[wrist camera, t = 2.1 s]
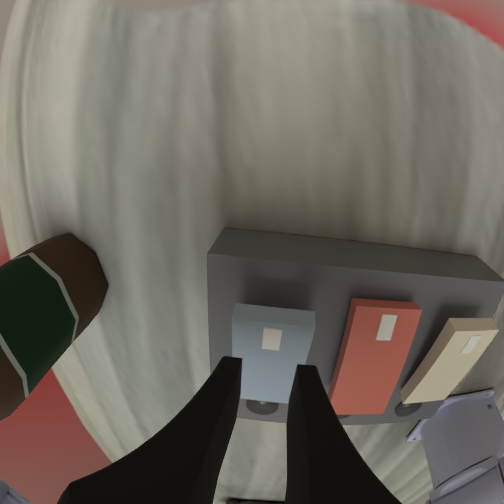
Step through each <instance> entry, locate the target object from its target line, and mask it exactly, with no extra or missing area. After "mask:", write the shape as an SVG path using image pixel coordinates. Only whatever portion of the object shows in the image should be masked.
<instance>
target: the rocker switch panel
mask: <svg viewBox="0 0 504 504" xmlns="http://www.w3.org/2000/svg"><path fill="white" fill-rule="evenodd" d="M207 281H208V323H209V350H210V371H211V374H212V372H213V371H214V369H215V368H216V366H217V365H218V363H219V361H220V360H221V358H222V357H223V356H230V357H232V315H233V311H234V308H235V304H236V303H241V304H249V305H258V306H267V307H276V308H286V309H297V310H307V311H315V321H316V328H315V332H314V335H313V339H312V343H311V346H310V350H309V353H308V356H307V360H306V363H305V365H315V366H316V367H317V368H318V372H319V375H320V378H321V380H322V383H323V386H324V388H325V391H326V393H327V395H328V391H329V388H330V385H331V381H332V378H333V374H334V371H335V367H336V363H337V360H338V356H339V352H340V348H341V344H342V340H343V336H344V332H345V328H346V323H347V319H348V314H349V310H350V305H351V300H352V298H360V299H373V300H388V301H404V302H415V303H416V304H417V305H418V306H419V307H420V308H421V309H422V312H421V316H420V319H419V323H418V326H417V329H416V332H415V335H414V338H413V341H412V344H411V347H410V350H409V353H408V355H407V358H406V361H405V363H404V366H403V369H402V371H401V374H400V376H399V379H398V381H397V383H396V386H395V388H394V391H393V393H392V395H391V397H390V400H389V402H388V404H387V406H386V408H385V410H384V413H383V414H358V415H337V417H338V419H339V421H340V423H341V424H342V425H364V424H383V423H396V422H406V421H415V420H423V419H430V418H432V417H433V416H434V414H435V413H436V412H437V410H438V409H439V408H440V406H441V405H442V404H443V402H444V401H445V399H446V398H447V397H448V396H447V397H446V398H445V399H444V400H436V401H428V402H419V403H408V404H402V398H401V393H400V391H401V390H402V389H403V388H404V386H405V385H406V384H407V382H408V381H409V379H410V378H411V377H412V375H413V374H414V373H415V371H416V370H417V368H418V367H419V365H420V364H421V362H422V361H423V360H424V358H425V357H426V355H427V354H428V352H429V350H430V349H431V347H432V346H433V344H434V343H435V341H436V339H437V338H438V336H439V334H440V333H441V331H442V329H443V328H444V326H445V324H446V323H447V321H448V319H449V318H493V315H494V313H495V311H496V309H497V306H498V304H499V302H500V299H501V297H502V294H503V292H504V279H503V278H502V277H501V276H499V275H498V274H497V273H496V272H495V271H494V270H493V269H491V268H490V267H489V266H488V265H487V264H485V263H484V262H483V261H482V260H481V259H479V258H478V257H475V256H468V255H461V254H453V253H446V252H439V251H431V250H424V249H416V248H408V247H400V246H392V245H384V244H375V243H367V242H358V241H350V240H341V239H332V238H323V237H313V236H304V235H294V234H284V233H274V232H264V231H253V230H243V229H232V228H224V230H223V231H222V233H221V234H220V235H219V237H218V238H217V240H216V241H215V243H214V244H213V246H212V247H211V248H210V250H209V251H208V253H207ZM287 414H288V403H276V402H267V401H258V400H250V399H242V398H240V401H239V406H238V412H237V418H244V419H251V420H260V421H269V422H280V423H287Z"/></svg>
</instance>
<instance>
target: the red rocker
mask: <svg viewBox="0 0 504 504" xmlns="http://www.w3.org/2000/svg"><path fill="white" fill-rule="evenodd" d="M421 312H422V309H421V308H420V307H419V306H418V305H417V304H416V303H415V302H404V301H388V300H373V299H360V298H352V300H351V305H350V310H349V314H348V319H347V323H346V328H345V332H344V336H343V340H342V344H341V348H340V352H339V356H338V360H337V363H336V367H335V371H334V374H333V378H332V381H331V385H330V388H329V391H328V398H329V400H330V402H331V404H332V406H333V408H334V411H335V413H336V415H358V414H383V413H384V410H385V408H386V406H387V404H388V402H389V400H390V397H391V395H392V393H393V391H394V388H395V386H396V383H397V381H398V379H399V376H400V374H401V371H402V369H403V366H404V363H405V361H406V358H407V355H408V353H409V350H410V347H411V344H412V341H413V338H414V335H415V332H416V329H417V326H418V323H419V319H420V316H421Z"/></svg>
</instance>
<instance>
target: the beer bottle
mask: <svg viewBox="0 0 504 504" xmlns="http://www.w3.org/2000/svg"><path fill="white" fill-rule="evenodd" d="M107 286H108V285H107V282H106V280H105V277H104V275H103V272H102V270H101V267H100V265H99V262H98V259H97V257H96V254H95V253H94V252H93V251H92V250H90V249H89V248H88V247H87V246H85V245H84V244H83V243H81V242H80V241H79V240H78V239H76V238H75V237H74V236H73V235H71V234H68V233H67V234H64V235H61V236H58V237H54V238H51V239H48V240H46V241H44V242H42V243H39V244H37V245H35V246H33V247H31V248H30V249H28V250H26V251H25V252H23V253H21V254H20V255H18V256H16V257H15V258H13V259H12V260H10V261H9V262H7V263H5V264H4V265H2V266H1V267H0V420H2V419H4V418H6V417H8V416H10V415H11V414H12V413H13V412H14V411H15V409H17V407H18V406H19V405H20V404H21V403H22V402H23V401H24V400H25V399H26V398H27V396H28V395H29V394H30V393H31V391H32V390H33V389H34V388H35V386H36V385H37V384H38V383H39V382H40V380H41V379H42V378H43V377H44V375H45V374H46V373H47V372H48V371H49V369H50V368H51V367H52V366H53V365H54V363H55V362H56V361H57V360H58V359H59V358H60V356H61V355H62V354H63V353H64V352H65V351H66V350H67V348H68V347H69V346H70V345H71V344H72V343H73V342H74V340H75V339H76V338H77V337H78V336H79V335H80V334H81V333H82V332H83V330H84V329H85V328H86V327H87V326H88V325H89V324H90V323H91V321H92V320H93V319H94V317H95V316H96V315H97V314H98V312H99V311H100V308H101V305H102V302H103V299H104V296H105V293H106V290H107Z"/></svg>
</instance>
